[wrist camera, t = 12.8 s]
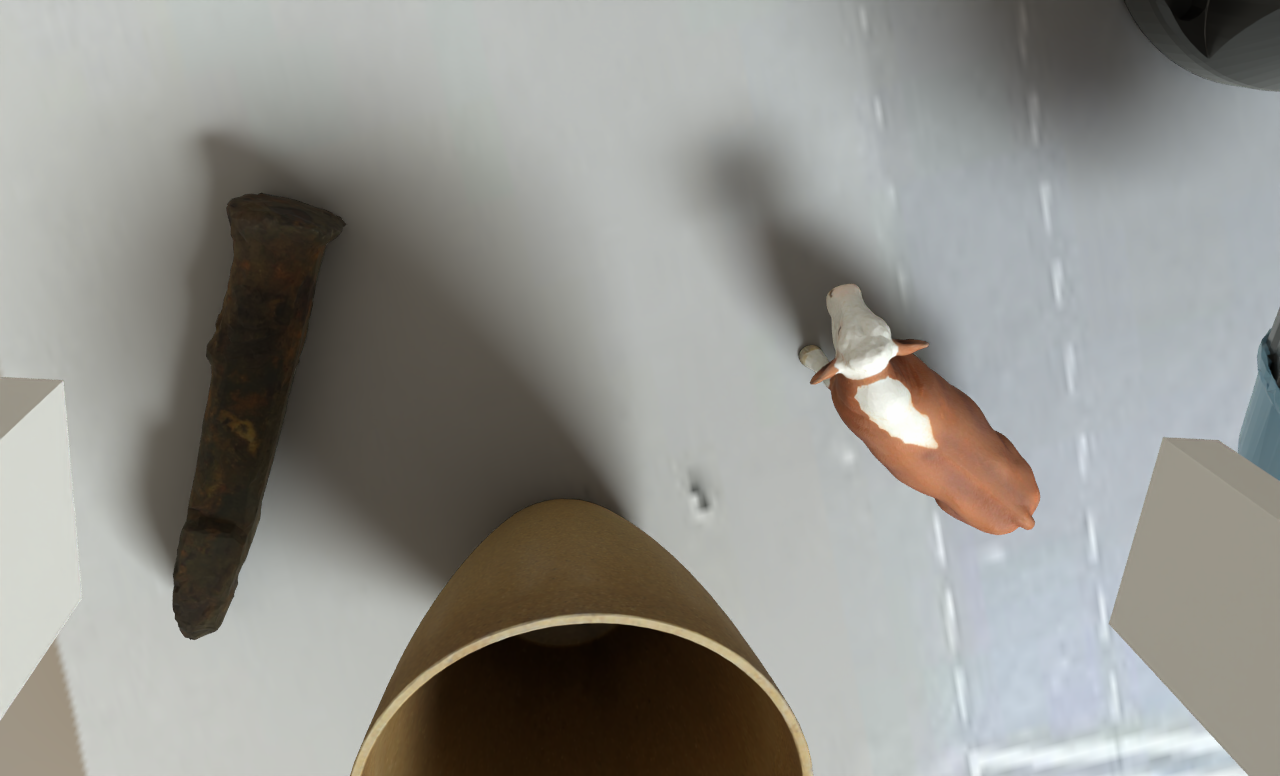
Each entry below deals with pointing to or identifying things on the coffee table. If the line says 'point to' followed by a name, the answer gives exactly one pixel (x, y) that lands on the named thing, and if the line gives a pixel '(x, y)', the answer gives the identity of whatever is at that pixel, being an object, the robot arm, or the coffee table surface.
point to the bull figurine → (920, 421)
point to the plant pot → (579, 666)
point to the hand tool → (247, 395)
